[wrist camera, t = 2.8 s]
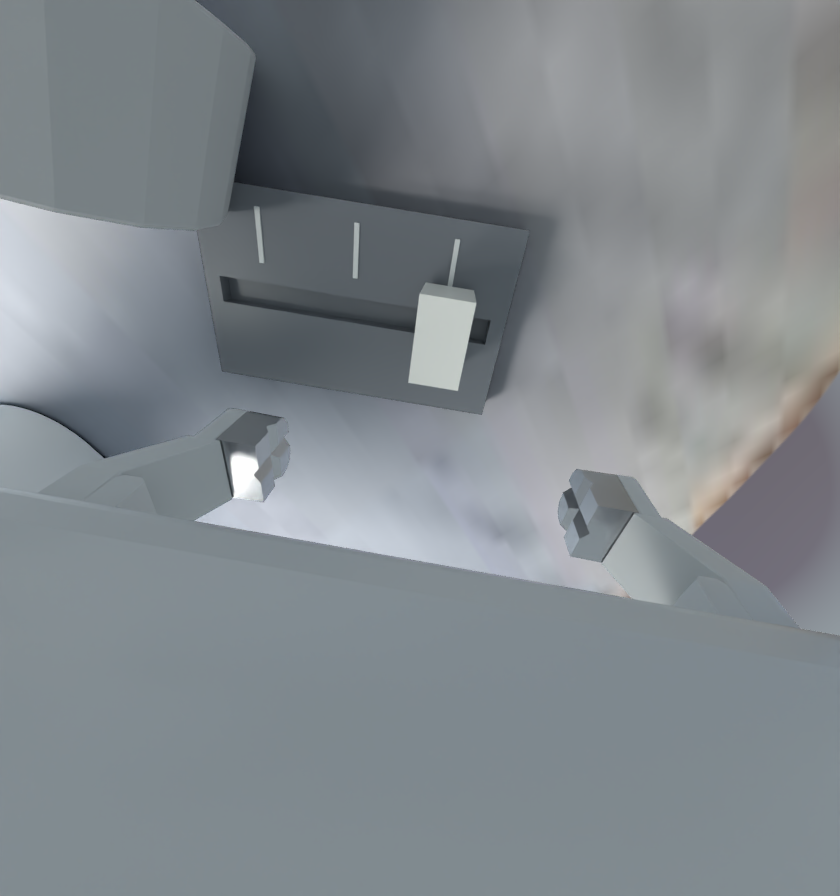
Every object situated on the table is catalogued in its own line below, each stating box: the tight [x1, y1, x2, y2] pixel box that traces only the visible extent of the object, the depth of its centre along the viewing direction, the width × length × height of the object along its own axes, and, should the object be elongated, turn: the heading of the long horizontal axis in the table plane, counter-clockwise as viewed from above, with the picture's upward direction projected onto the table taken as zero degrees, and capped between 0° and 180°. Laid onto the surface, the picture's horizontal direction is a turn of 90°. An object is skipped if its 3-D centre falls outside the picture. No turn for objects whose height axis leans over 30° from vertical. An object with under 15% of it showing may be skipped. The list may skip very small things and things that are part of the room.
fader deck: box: [197, 182, 530, 415], centre depth 24 cm, size 12×20×2 cm, turn 82°
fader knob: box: [408, 282, 476, 391], centre depth 22 cm, size 5×3×5 cm, turn 172°
